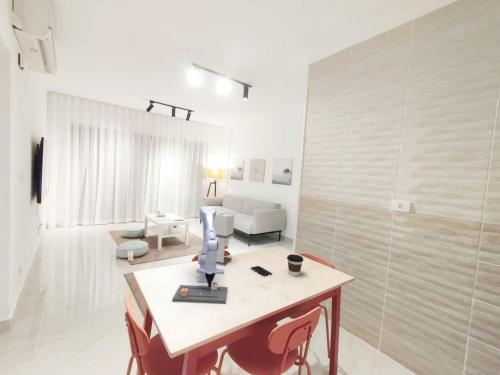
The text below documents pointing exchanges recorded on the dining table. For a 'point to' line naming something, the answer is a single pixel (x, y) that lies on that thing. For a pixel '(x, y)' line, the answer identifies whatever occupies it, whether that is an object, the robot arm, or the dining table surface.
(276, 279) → the dining table surface
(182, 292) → the fader terracotta
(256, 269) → the phone
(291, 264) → the coffee cup
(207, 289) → the console
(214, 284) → the fader white
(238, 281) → the dining table surface
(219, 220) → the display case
